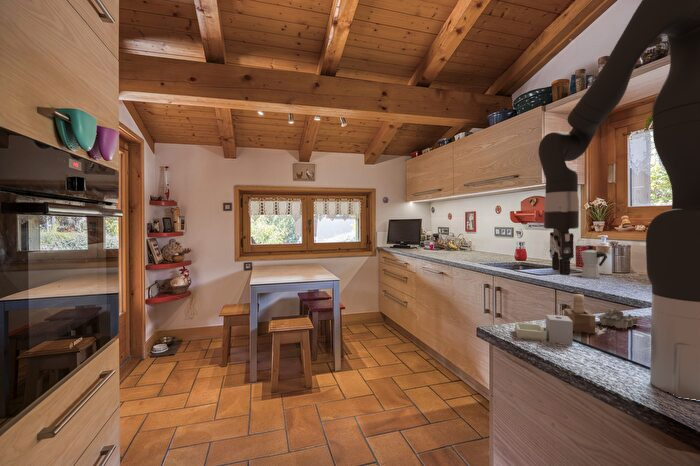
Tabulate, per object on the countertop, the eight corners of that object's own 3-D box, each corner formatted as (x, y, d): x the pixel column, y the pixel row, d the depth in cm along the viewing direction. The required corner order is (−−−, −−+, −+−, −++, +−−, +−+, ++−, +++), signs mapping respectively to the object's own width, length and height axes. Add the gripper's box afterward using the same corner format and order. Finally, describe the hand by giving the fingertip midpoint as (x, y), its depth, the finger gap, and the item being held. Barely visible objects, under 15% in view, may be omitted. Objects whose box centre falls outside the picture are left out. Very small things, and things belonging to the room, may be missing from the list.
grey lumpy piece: (614, 319, 102) (614, 307, 102) (643, 326, 95) (643, 313, 95) (594, 324, 98) (594, 310, 98) (623, 331, 91) (624, 317, 91)
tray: (546, 341, 83) (546, 332, 83) (517, 338, 85) (517, 329, 85) (541, 333, 89) (541, 324, 89) (514, 330, 91) (515, 322, 91)
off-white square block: (572, 345, 80) (572, 321, 80) (549, 342, 82) (549, 319, 82) (567, 338, 85) (567, 315, 85) (545, 336, 87) (545, 314, 87)
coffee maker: (573, 275, 185) (574, 245, 184) (584, 275, 188) (585, 244, 187) (600, 280, 171) (601, 246, 170) (612, 279, 173) (612, 246, 173)
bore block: (595, 333, 88) (595, 316, 88) (569, 331, 90) (569, 313, 90) (588, 327, 94) (588, 310, 94) (564, 325, 96) (564, 308, 96)
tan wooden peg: (584, 331, 91) (585, 296, 90) (574, 330, 91) (574, 295, 91) (582, 328, 93) (582, 294, 92) (572, 327, 94) (572, 293, 93)
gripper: (539, 211, 91) (539, 268, 91) (549, 209, 78) (549, 275, 78) (571, 211, 88) (570, 269, 88) (586, 208, 75) (586, 277, 75)
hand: (560, 272), depth 83 cm, fingers open, 8 cm apart
